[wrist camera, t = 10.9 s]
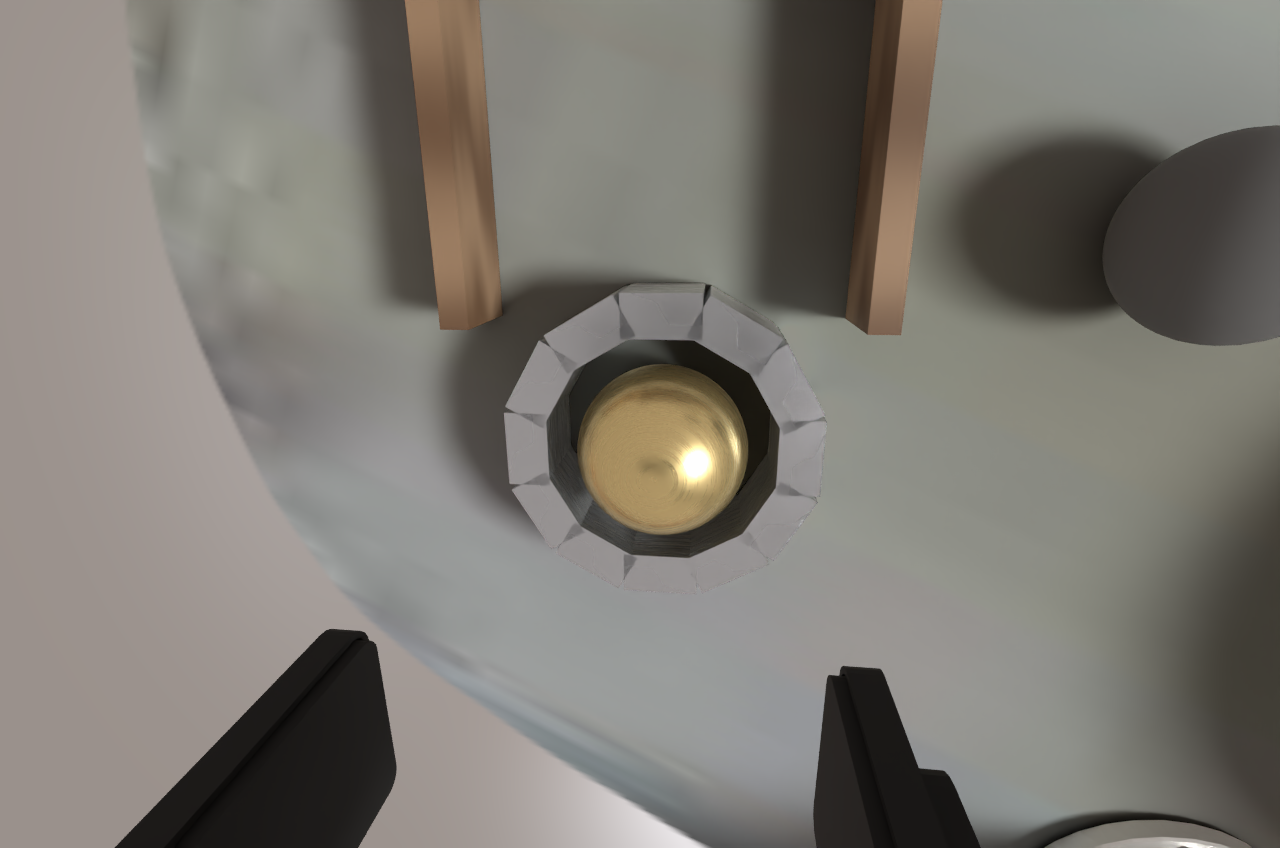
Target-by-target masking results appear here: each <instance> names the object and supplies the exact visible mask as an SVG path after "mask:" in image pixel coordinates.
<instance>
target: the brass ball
mask: <svg viewBox="0 0 1280 848" xmlns="http://www.w3.org/2000/svg"><path fill="white" fill-rule="evenodd" d="M577 455H578V464H579V468H580V472H581V476H582V478H583V481H584V484H585V486H586V488H587V490H588V492H589V493H590V495H591V497H592V498H593V499H594V501H595V502H596V503H597V504H598V506H599V507H600V508H601V509H602V510H603V511H604V512H605V513H607V514H608V515H609V516H610V517H611V518H613V519H614V520H616V521H617V522H619V523H620V524H622V525H624V526H626V527H628V528H630V529H633V530H636V531H639V532H643V533H647V534H655V535H670V534H678V533H683V532H687V531H690V530H693V529H695V528H698V527H700V526H702V525H704V524H705V523H707V522H709V521H710V520H712V519H713V518H714V517H716V516H717V515H718V514H719V513H720V512H721V511H722V510H724V509H725V508H726V507H727V505H728V504H729V503H730V502H731V500H732V499H733V497H734V496H735V494H736V492H737V491H738V489H739V487H740V485H741V482H742V480H743V478H744V474H745V470H746V467H747V458H748V439H747V433H746V429H745V426H744V422H743V419H742V417H741V414H740V412H739V410H738V408H737V406H736V405H735V403H734V402H733V400H732V399H731V398H730V396H729V395H728V394H727V393H726V392H725V391H724V390H723V389H722V388H721V387H720V386H719V385H718V384H717V383H716V382H714V381H713V380H711V379H710V378H708V377H707V376H705V375H703V374H701V373H699V372H697V371H695V370H692V369H689V368H687V367H682V366H678V365H670V364H655V365H648V366H642V367H639V368H636V369H632V370H630V371H628V372H626V373H624V374H621V375H620V376H618V377H617V378H615V379H614V380H612V381H611V382H610V383H609V384H607V385H606V386H605V387H604V388H603V389H602V390H601V391H600V392H599V393H598V394H597V395H596V397H595V398H594V399H593V401H592V402H591V404H590V405H589V407H588V409H587V411H586V413H585V415H584V417H583V420H582V423H581V426H580V430H579V436H578V445H577Z"/></svg>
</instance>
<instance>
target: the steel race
mask: <svg viewBox="0 0 1280 848" xmlns="http://www.w3.org/2000/svg"><path fill="white" fill-rule="evenodd" d="M628 339H640V340H694V341H696V342H698V343H699V344H701V345H703V346H704V347H706V348H708V349H709V350H711V351H713V352H714V353H716V354H718V355H720V356H721V357H723V358H725V359H726V360H728V361H730V362H731V363H733V364H735V365H736V366H738V367H740V368H741V369H743V370H745V371H747V372H748V373H750V374H751V376H752V378H753V380H754V382H755V384H756V385H757V387H758V389H759V391H760V393H761V395H762V396H763V398H764V400H765V402H766V404H767V406H768V407H769V409H770V428H769V444H768V453H767V454H766V456H765V457H764V459H763V460H762V461H761V463H760V464H759V466H758V467H757V469H756V470H755V471H754V473H753V474H752V476H751V477H750V478H749V480H748V481H747V483H746V484H745V486H744V487H743V488H742V490H741V491H740V493H739V494H737V495H735V496H734V497H733V499H732V500H731V502H730V503H729V504H728V505H727V507H726V508H725V509H724V510H722V511H721V512H720V513H719V514H718V515H717V516H716V517H714V518H713V519H712V520H710V521H709V522H707V523H705V524H704V525H702V526H700V527H698V528H695V529H693V530H690V531H687V532H683V533H678V534H670V535H655V534H647V533H643V532H639V531H636V530H633V529H630V528H628V527H626V526H624V525H622V524H620V523H619V522H617V521H616V520H614V519H613V518H611V517H610V516H609V515H608V514H607V513H605V512H604V511H603V510H602V509H601V508H600V507H599V506H598V504H597V503H596V502H595V501H594V499H593V498H592V497H591V495H590V493H589V492H588V490H587V488H586V486H585V484H584V481H583V478H582V476H581V472H580V468H579V464H578V455H577V454H576V452H575V451H574V449H573V448H572V446H571V431H570V409H569V394H570V392H571V391H572V389H573V387H574V385H575V383H576V381H577V380H578V378H579V376H580V374H581V372H582V371H583V369H584V367H585V365H586V363H588V362H589V361H591V360H593V359H595V358H596V357H598V356H600V355H602V354H603V353H605V352H607V351H609V350H610V349H612V348H614V347H616V346H617V345H619V344H621V343H623V342H624V341H626V340H628ZM505 407H507V408H508V410H507V411H505V412H504V421H505V433H506V446H507V459H508V471H509V484H516V485H515V486H514V487H513V489H512V491H513V493H514V494H515V496H516V497H517V499H518V500H519V502H520V503H521V505H522V506H523V508H524V509H525V511H526V512H527V514H528V515H529V517H530V518H531V520H532V521H533V523H534V524H535V526H536V527H537V528H538V530H539V531H540V533H541V534H542V536H543V537H544V539H545V540H546V542H547V543H548V545H549V546H550V548H551V549H552V548H554V547H556V546H558V545H559V547H558V550H557V552H556V553H557V554H558V555H560V556H562V557H564V558H565V559H567V560H569V561H571V562H573V563H574V564H576V565H578V566H580V567H581V568H583V569H585V570H587V571H589V572H590V573H592V574H594V575H596V576H598V577H599V578H601V579H603V580H605V581H606V582H608V583H610V584H612V585H614V586H615V587H617V588H619V586H620V585H621V583H622V582H623V580H624V590H634V591H651V592H667V593H684V594H696V589H697V585H698V587H699V588H700V590H701V592H702V593H704V592H706V591H709V590H711V589H713V588H716V587H718V586H720V585H723V584H725V583H727V582H730V581H732V580H734V579H737V578H739V577H741V576H744V575H746V574H748V573H750V572H753V571H755V570H757V569H760V568H762V567H764V566H767V565H769V563H768V558H770V559H772V560H773V561H774V560H775V558H776V557H777V556H778V555H779V553H780V552H781V551H782V549H783V548H784V547H785V545H786V544H787V543H788V541H789V540H790V539H791V537H792V536H793V535H794V533H795V532H796V531H797V530H798V528H799V527H800V526H801V524H802V523H803V522H804V520H805V519H806V518H807V516H808V515H809V514H810V512H811V511H812V510H813V508H814V507H815V506H816V505H817V503H818V502H817V500H816V497H820V493H821V481H822V470H823V459H824V448H825V437H826V426H827V421H826V419H825V418H824V416H825V413H824V411H823V409H822V407H821V405H820V404H819V402H818V400H817V398H816V396H815V394H814V392H813V390H812V388H811V386H810V384H809V383H808V381H807V379H806V377H805V375H804V373H803V371H802V369H801V367H800V365H799V363H798V361H797V360H796V358H795V356H794V354H793V352H792V350H791V348H790V346H789V344H788V343H787V341H786V339H785V338H784V336H783V334H782V333H781V331H780V329H779V328H778V327H776V325H775V324H774V322H773V321H771V320H769V319H768V318H766V317H764V316H763V315H761V314H759V313H758V312H756V311H754V310H753V309H751V308H749V307H747V306H746V305H744V304H742V303H741V302H739V301H737V300H736V299H734V298H732V297H731V296H729V295H727V294H726V293H724V292H722V291H721V290H719V289H717V288H716V287H714V286H712V285H711V287H710V288H709V290H708V292H707V293H706V295H705V283H632V284H631V285H629V286H627V285H626V286H624V287H622V288H621V289H619V290H617V291H616V292H614V293H612V294H610V295H609V296H607V297H605V298H604V299H602V300H600V301H599V302H597V303H595V304H594V305H592V306H590V307H589V308H587V309H585V310H584V311H582V312H580V313H579V314H577V315H575V316H574V317H572V318H570V319H569V320H567V321H565V322H564V323H562V324H561V325H559V326H558V327H556V328H555V329H553V330H551V331H550V332H548V333H547V334H545V335H544V338H542V339H540V340H539V341H538V343H537V345H536V347H535V349H534V351H533V353H532V355H531V357H530V359H529V361H528V363H527V365H526V367H525V369H524V371H523V373H522V375H521V376H520V378H519V380H518V382H517V384H516V386H515V388H514V390H513V392H512V394H511V396H510V398H509V400H508V402H507V404H506V406H505Z"/></svg>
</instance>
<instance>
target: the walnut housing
mask: <svg viewBox="0 0 1280 848" xmlns="http://www.w3.org/2000/svg"><path fill="white" fill-rule="evenodd" d="M405 7H406V16H407V25H408V34H409V44H410V53H411V62H412V71H413V81H414V90H415V99H416V109H417V118H418V127H419V136H420V146H421V155H422V164H423V173H424V183H425V192H426V201H427V211H428V220H429V229H430V238H431V248H432V257H433V266H434V275H435V285H436V294H437V303H438V313H439V322H440V329H441V330H469V329H472V328H474V327H477V326H479V325H481V324H484V323H486V322H488V321H491V320H493V319H495V318H498V317H500V316H502V315H503V312H502V299H501V286H500V272H499V259H498V246H497V233H496V220H495V207H494V193H493V180H492V167H491V154H490V141H489V128H488V114H487V101H486V88H485V75H484V62H483V49H482V35H481V22H480V9H479V0H405ZM941 7H942V0H876V3H875V14H874V24H873V35H872V45H871V56H870V66H869V77H868V87H867V98H866V108H865V119H864V129H863V140H862V150H861V161H860V171H859V182H858V192H857V203H856V214H855V224H854V235H853V245H852V256H851V266H850V277H849V287H848V298H847V308H846V319H847V320H848V321H850V322H851V323H852V324H854V325H855V326H857V327H858V328H859V329H861V330H862V331H863V332H865V333H866V334H867V335H901V331H902V322H903V314H904V306H905V298H906V290H907V282H908V274H909V266H910V258H911V250H912V242H913V234H914V226H915V217H916V209H917V201H918V193H919V185H920V177H921V169H922V161H923V153H924V145H925V137H926V129H927V120H928V112H929V104H930V96H931V88H932V80H933V72H934V64H935V56H936V48H937V40H938V32H939V23H940V15H941Z"/></svg>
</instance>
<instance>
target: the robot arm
mask: <svg viewBox="0 0 1280 848" xmlns="http://www.w3.org/2000/svg"><path fill="white" fill-rule="evenodd" d="M395 776H396V760H395V754H394V748H393V742H392V735H391V730H390V723H389V717H388V711H387V706H386V699H385V693H384V688H383V681H382V675H381V670H380V663H379V658H378V651H377V647H376V644H375V643H374V642H372V641H369V639H368V636H367V635H366V633H365V632H362V631H352V630H338V629H329V630H326V631H325V632H324V633H322V634H321V635H320V636H319V637H318V638H317V639H316V640H315V642H313V643H312V644H311V645H310V646H309V648H308V649H307V650H306V651H305V652H304V653H303V654H302V655H301V656H300V657H299V658H298V659H297V660H296V661H295V662H294V663H293V664H292V665H291V666H290V667H289V668H288V669H287V670H286V671H285V672H284V673H283V674H282V675H281V676H280V677H279V678H278V679H277V681H276V682H275V683H274V684H273V685H272V686H271V687H270V688H269V689H268V690H267V691H266V692H265V693H264V694H263V695H262V696H261V697H260V698H259V699H258V700H257V701H256V702H255V703H254V704H253V705H252V706H251V707H250V708H249V709H248V710H247V712H246V713H245V714H244V715H243V716H242V717H241V718H240V719H239V720H238V721H237V722H236V723H235V724H234V725H233V726H232V727H231V728H230V729H229V730H228V731H227V732H226V733H225V734H224V735H223V736H222V737H221V738H220V739H219V740H218V742H217V743H216V744H215V745H214V746H213V747H212V748H211V749H210V750H209V751H208V752H207V753H206V754H205V755H204V756H203V757H202V758H201V759H200V760H199V761H198V762H197V763H196V764H195V765H194V766H193V767H192V768H191V769H190V770H189V772H187V774H186V775H185V776H184V777H183V778H182V779H181V780H180V781H179V782H178V783H177V784H176V785H175V786H174V787H173V788H172V789H171V790H170V791H169V792H168V793H167V794H166V795H165V796H164V797H163V798H162V799H161V800H160V801H159V803H158V804H157V805H156V806H155V807H154V808H153V809H152V810H151V811H150V812H149V813H148V814H147V815H146V816H145V817H144V818H143V819H142V820H141V821H140V822H139V823H138V824H137V825H136V826H135V827H134V828H133V829H132V830H131V832H129V834H127V836H126V837H125V838H124V839H123V840H122V841H121V842H120V843H119V844H118V845H117V846H116V847H115V848H358V847H359V845H360V843H361V842H362V840H363V838H364V837H365V835H366V833H367V831H368V829H369V828H370V826H371V824H372V823H373V821H374V819H375V817H376V816H377V814H378V812H379V810H380V809H381V807H382V805H383V804H384V802H385V800H386V798H387V797H388V795H389V793H390V791H391V789H392V787H393V784H394V780H395ZM813 817H814V832H815V839H816V845H817V848H981V847H980V845H979V843H978V840H977V838H976V835H975V833H974V831H973V828H972V826H971V824H970V821H969V819H968V817H967V814H966V812H965V809H964V807H963V805H962V802H961V800H960V798H959V795H958V793H957V791H956V788H955V786H954V784H953V782H952V780H951V778H950V777H949V776H948V774H947V773H946V772H945V771H941V770H931V769H920V768H918V765H917V762H916V760H915V757H914V754H913V752H912V749H911V746H910V743H909V741H908V738H907V735H906V733H905V730H904V727H903V725H902V722H901V719H900V717H899V714H898V711H897V708H896V706H895V703H894V700H893V698H892V695H891V692H890V690H889V687H888V684H887V681H886V679H885V676H884V674H883V672H882V670H880V669H877V668H863V667H849V666H843V667H841V670H840V675H839V676H834V675H829V676H828V678H827V684H826V693H825V703H824V712H823V722H822V732H821V741H820V751H819V760H818V770H817V780H816V789H815V799H814V813H813ZM1044 848H1252V847H1251V846H1249V845H1248V844H1247V843H1245V842H1243V841H1241V840H1239V839H1236V838H1234V837H1232V836H1230V835H1228V834H1225V833H1223V832H1221V831H1217V830H1214V829H1210V828H1207V827H1203V826H1199V825H1196V824H1191V823H1183V822H1175V821H1167V820H1130V821H1123V822H1116V823H1108V824H1103V825H1099V826H1095V827H1092V828H1088V829H1084V830H1081V831H1077V832H1075V833H1073V834H1070V835H1068V836H1066V837H1063V838H1061V839H1059V840H1057V841H1054V842H1052V843H1051V844H1049V845H1048V846H1046V847H1044Z"/></svg>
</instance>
